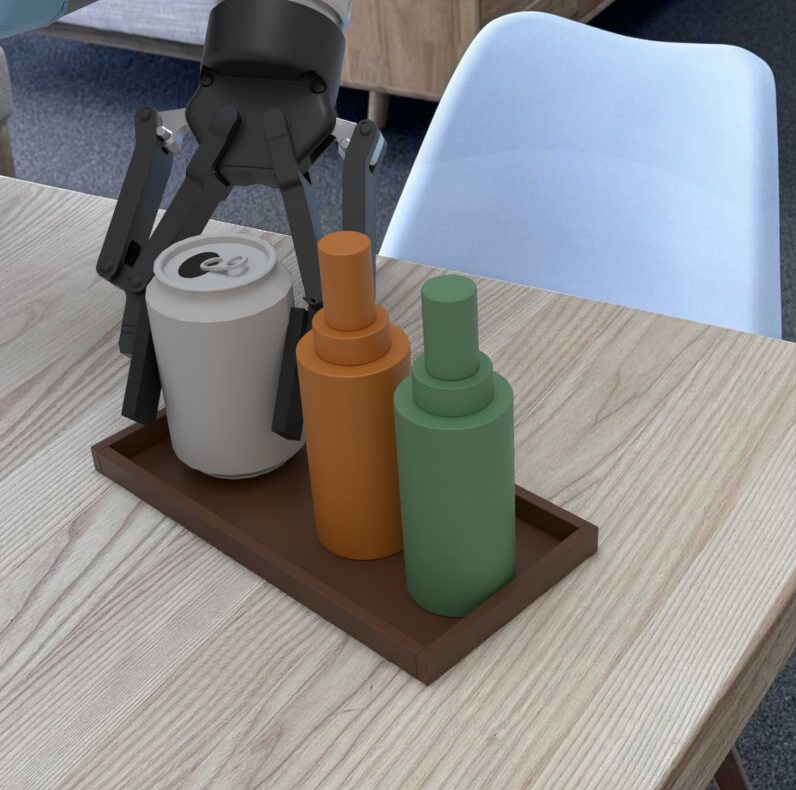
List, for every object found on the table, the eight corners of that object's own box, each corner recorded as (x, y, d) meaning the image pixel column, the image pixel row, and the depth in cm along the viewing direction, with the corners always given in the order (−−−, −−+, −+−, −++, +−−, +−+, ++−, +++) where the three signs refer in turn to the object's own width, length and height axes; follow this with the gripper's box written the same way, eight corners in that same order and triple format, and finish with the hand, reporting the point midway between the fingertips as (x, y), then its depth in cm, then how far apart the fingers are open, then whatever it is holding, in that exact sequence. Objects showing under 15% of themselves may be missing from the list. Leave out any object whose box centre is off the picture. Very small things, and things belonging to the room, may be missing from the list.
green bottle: (383, 585, 69) (359, 291, 59) (458, 531, 72) (446, 245, 63) (464, 634, 66) (452, 333, 57) (538, 576, 69) (538, 283, 60)
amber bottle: (294, 530, 72) (258, 245, 63) (369, 482, 76) (346, 205, 66) (367, 575, 69) (341, 283, 60) (442, 522, 73) (428, 238, 63)
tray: (97, 480, 77) (89, 446, 76) (268, 385, 85) (264, 353, 84) (428, 698, 63) (426, 661, 62) (597, 561, 71) (598, 526, 70)
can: (214, 400, 82) (185, 214, 75) (332, 421, 80) (313, 232, 73) (149, 474, 76) (111, 280, 69) (274, 499, 74) (248, 301, 67)
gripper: (77, -21, 75) (-5, 395, 71) (446, -3, 72) (383, 435, 68) (134, 41, 82) (62, 422, 78) (471, 60, 79) (415, 459, 75)
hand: (211, 427), depth 73 cm, fingers closed on can, 7 cm apart
